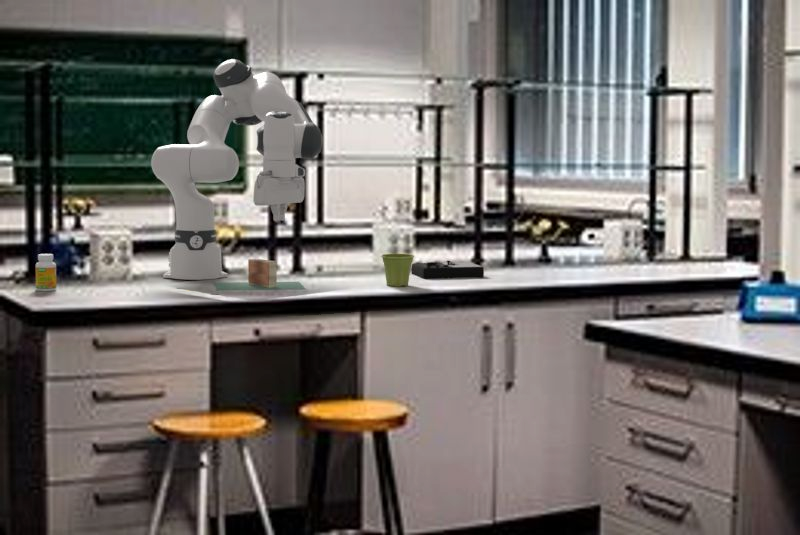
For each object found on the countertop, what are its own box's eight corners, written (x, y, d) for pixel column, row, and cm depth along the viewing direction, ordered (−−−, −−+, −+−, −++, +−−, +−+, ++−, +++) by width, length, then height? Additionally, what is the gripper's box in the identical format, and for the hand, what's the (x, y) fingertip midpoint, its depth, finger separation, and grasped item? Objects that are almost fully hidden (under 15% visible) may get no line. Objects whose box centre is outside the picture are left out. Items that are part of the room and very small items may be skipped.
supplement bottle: (35, 291, 348) (34, 255, 347) (36, 289, 354) (35, 253, 352) (56, 291, 350) (55, 255, 348) (56, 288, 355) (56, 253, 354)
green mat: (213, 286, 362) (213, 282, 362) (298, 285, 367) (298, 281, 367) (216, 294, 347) (216, 290, 347) (305, 293, 351) (305, 289, 351)
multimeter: (410, 275, 399) (411, 258, 398) (469, 273, 404) (470, 257, 403) (423, 280, 386) (423, 263, 385) (484, 278, 391) (484, 262, 391)
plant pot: (411, 288, 365) (411, 257, 364) (378, 287, 367) (378, 256, 366) (416, 284, 374) (416, 254, 373) (384, 282, 376) (384, 253, 375)
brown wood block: (247, 284, 359) (247, 259, 359) (255, 283, 361) (255, 258, 361) (269, 287, 353) (269, 262, 352) (276, 286, 355) (276, 261, 354)
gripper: (267, 172, 347) (267, 223, 349) (308, 169, 365) (308, 218, 367) (247, 171, 350) (247, 222, 352) (289, 169, 368) (289, 217, 370)
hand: (279, 220), depth 360 cm, fingers closed
